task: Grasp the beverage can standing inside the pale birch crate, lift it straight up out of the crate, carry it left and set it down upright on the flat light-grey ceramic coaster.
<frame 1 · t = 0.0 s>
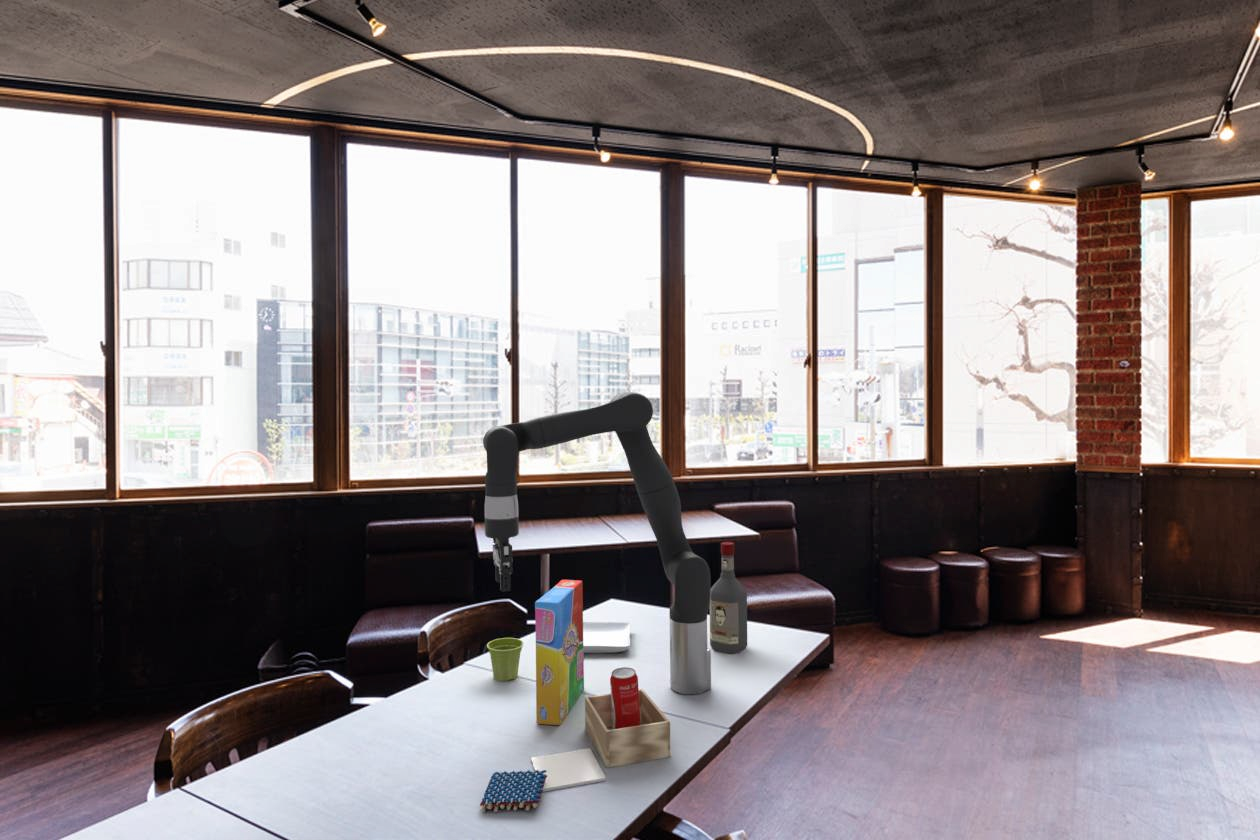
hand: (503, 586, 162), 29 cm above the table, fingers open, 8 cm apart
woven mat: (514, 796, 129), on the table, touching coaster
coaster: (567, 770, 138), on the table
plant pot: (505, 677, 185), on the table
crate: (626, 742, 149), on the table
game box: (561, 706, 167), on the table
liquor: (728, 648, 204), on the table
salad plate: (594, 645, 210), on the table
beverage can: (626, 743, 149), resting in crate
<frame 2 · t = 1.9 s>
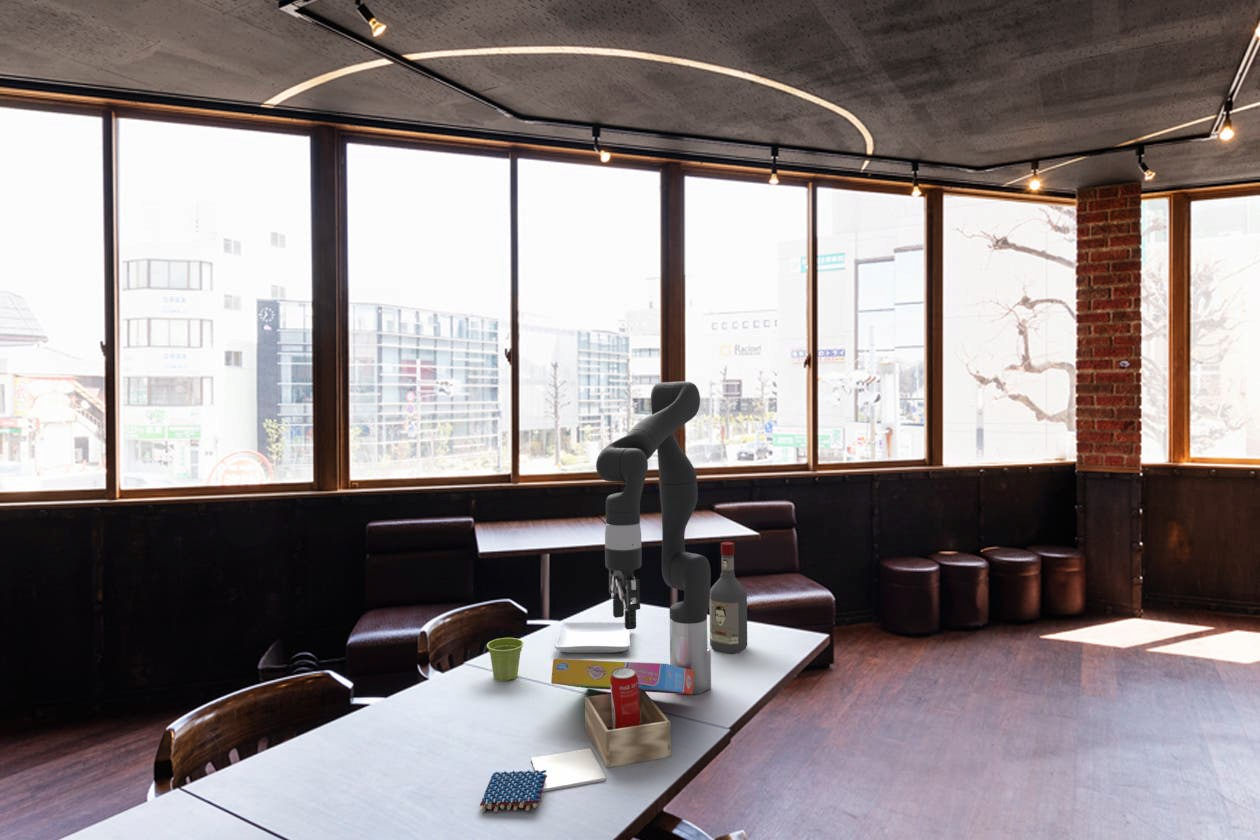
hand: (624, 622, 148), 25 cm above the table, fingers open, 8 cm apart
game box: (570, 673, 170), point 6 cm above the table, touching crate
everything else where it was.
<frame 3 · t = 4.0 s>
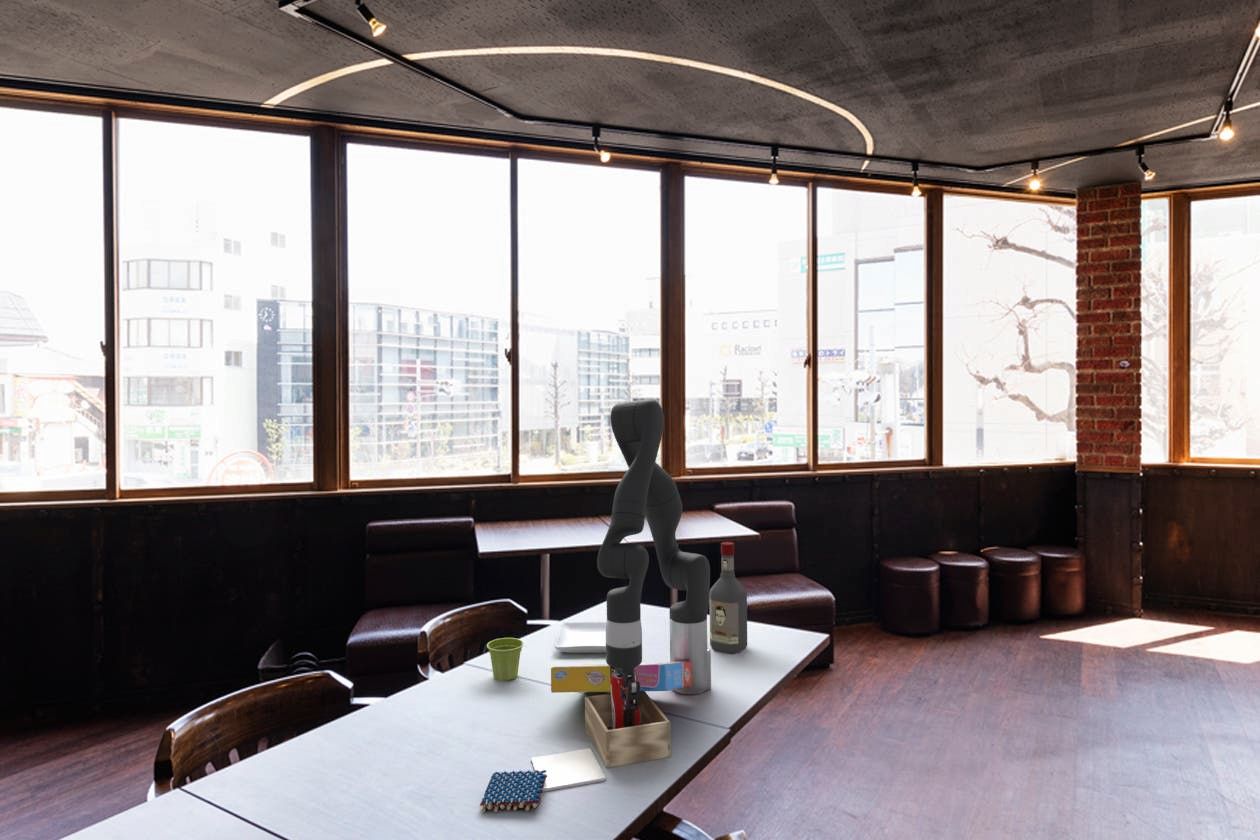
hand: (624, 720, 149), 5 cm above the table, fingers closed on beverage can, 5 cm apart
beverage can: (626, 743, 149), resting in crate, touching gripper
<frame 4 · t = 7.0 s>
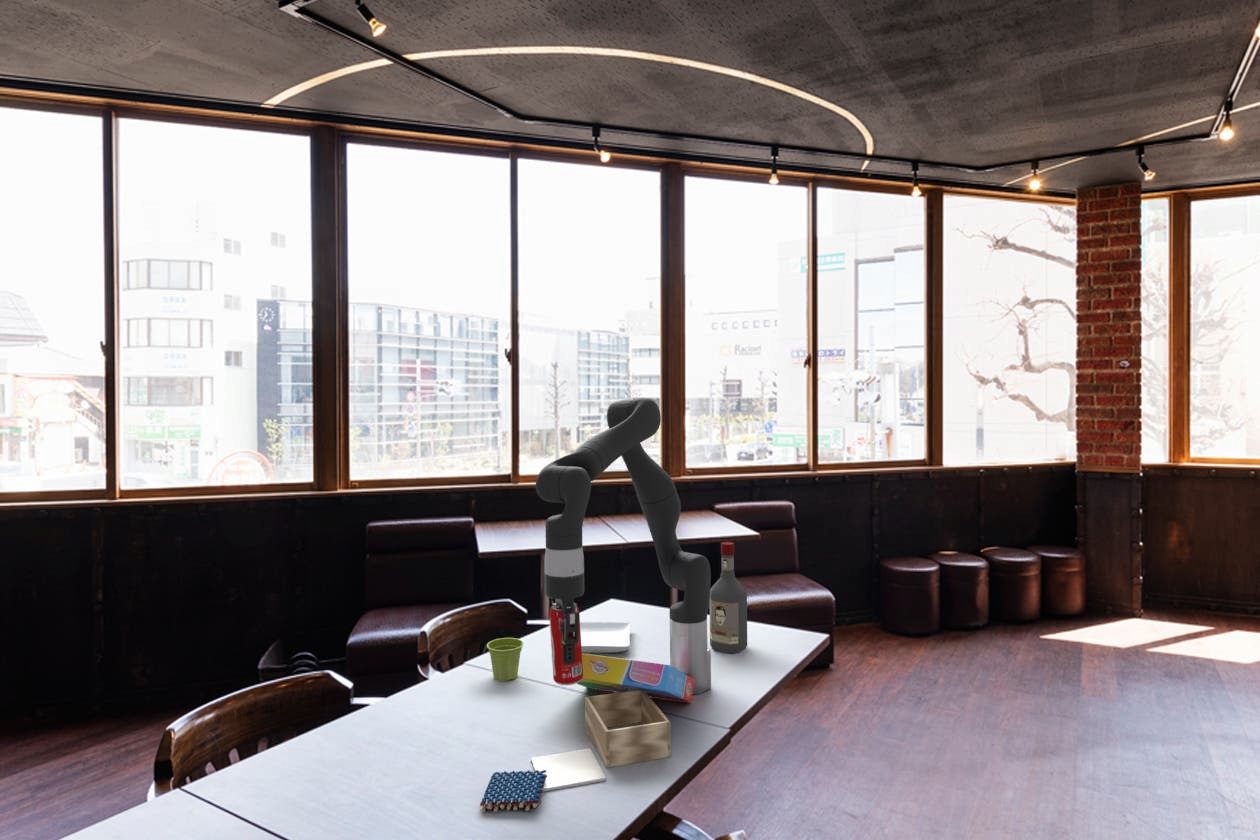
hand: (565, 657, 138), 22 cm above the table, fingers closed on beverage can, 5 cm apart
game box: (571, 669, 171), point 7 cm above the table, touching crate
beverage can: (566, 682, 138), point 17 cm above the table, touching gripper
everything else where it was.
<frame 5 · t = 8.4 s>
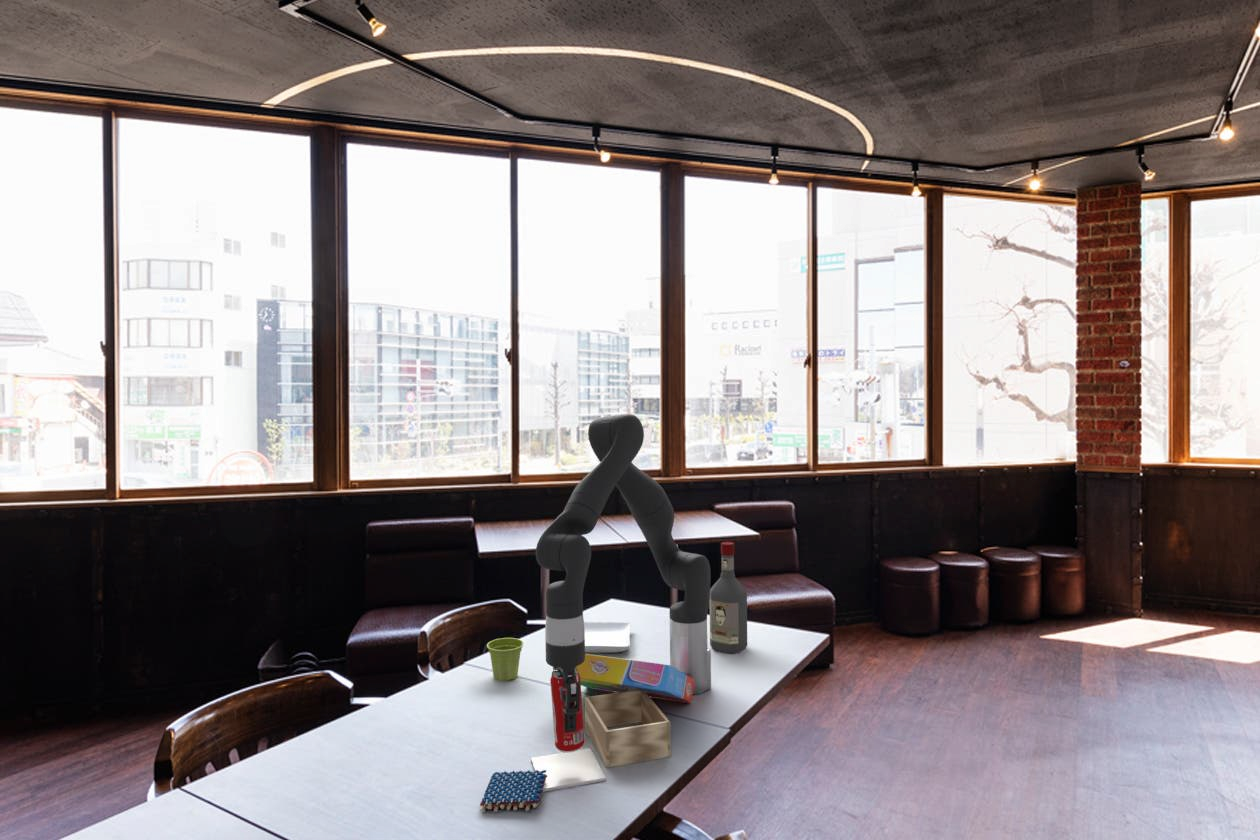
hand: (566, 723, 138), 9 cm above the table, fingers closed on beverage can, 5 cm apart
beverage can: (568, 747, 138), point 4 cm above the table, touching gripper
everything else where it was.
when the fingers open (6 cm above the table, at t = 9.6 s): beverage can stays where it is, resting on coaster.
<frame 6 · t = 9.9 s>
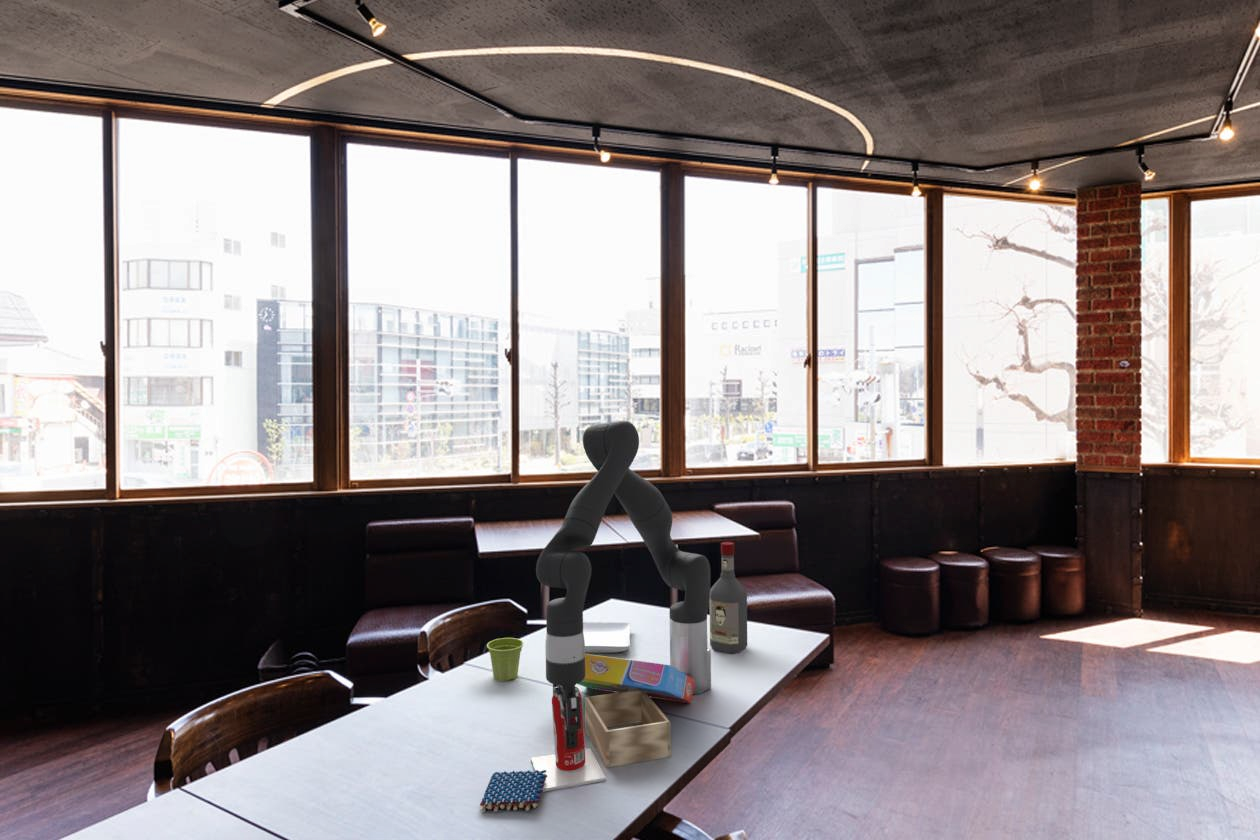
hand: (566, 737, 138), 6 cm above the table, fingers open, 8 cm apart
beverage can: (569, 767, 139), resting on coaster
everything else where it was.
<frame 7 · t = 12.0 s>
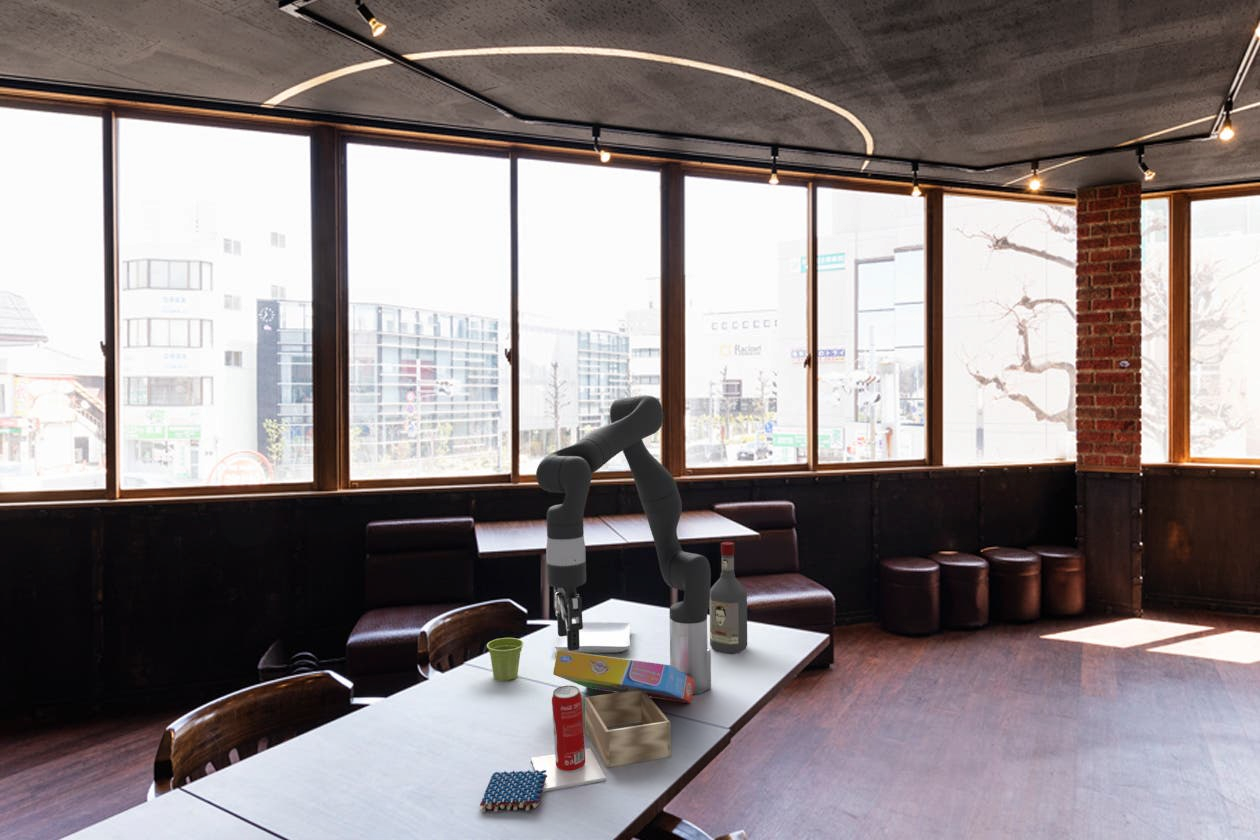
hand: (568, 642, 139), 24 cm above the table, fingers open, 8 cm apart
nothing on the table moved.
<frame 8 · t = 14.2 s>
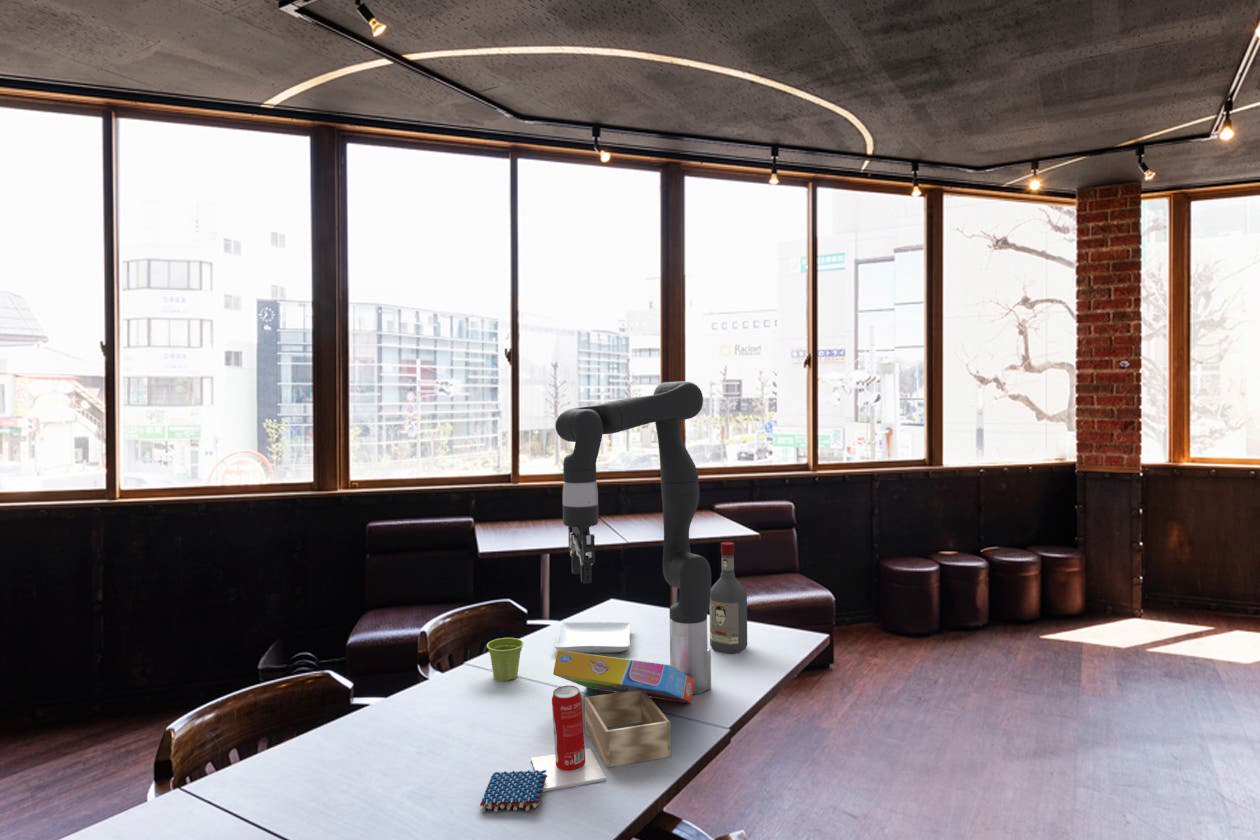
hand: (581, 578, 154), 33 cm above the table, fingers open, 8 cm apart
nothing on the table moved.
at the end: beverage can inside the target area on the coaster (0.6 cm from its centre), point 0.3 cm above the coaster's base; beverage can tilted 0°; the gripper is holding nothing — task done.
